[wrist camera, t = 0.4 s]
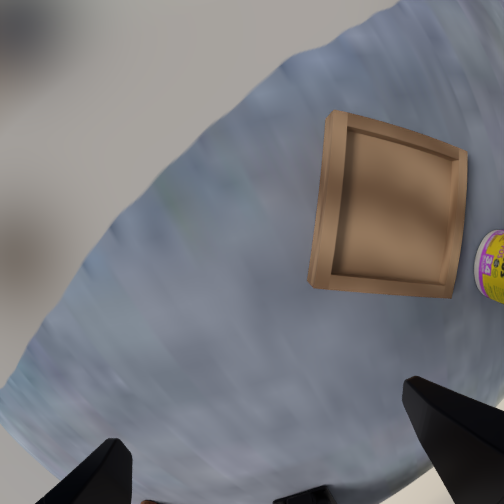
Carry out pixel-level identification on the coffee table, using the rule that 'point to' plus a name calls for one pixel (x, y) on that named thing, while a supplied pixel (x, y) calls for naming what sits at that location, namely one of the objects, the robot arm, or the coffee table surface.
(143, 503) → the wooden figurine
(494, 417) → the robot arm
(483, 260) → the supplement bottle
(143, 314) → the coffee table surface
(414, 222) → the walnut tray
